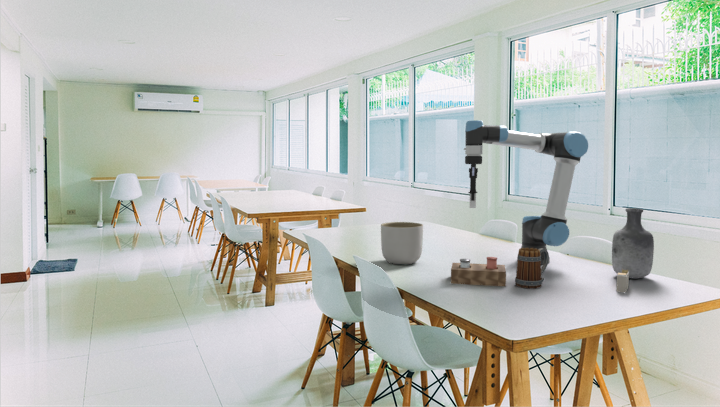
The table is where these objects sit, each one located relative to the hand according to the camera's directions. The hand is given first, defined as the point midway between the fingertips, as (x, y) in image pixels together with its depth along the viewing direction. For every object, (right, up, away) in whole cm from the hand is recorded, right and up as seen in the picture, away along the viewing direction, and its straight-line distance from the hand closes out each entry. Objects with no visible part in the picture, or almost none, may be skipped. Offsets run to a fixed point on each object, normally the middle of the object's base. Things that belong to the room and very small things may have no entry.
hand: (472, 207), depth 239 cm
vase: (+67, -31, -9) cm, 74 cm away
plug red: (+4, -30, -17) cm, 35 cm away
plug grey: (-6, -31, -14) cm, 35 cm away
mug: (+20, -32, -22) cm, 44 cm away
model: (+53, -33, -29) cm, 69 cm away
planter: (-30, -28, +23) cm, 47 cm away
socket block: (-1, -31, -15) cm, 35 cm away
